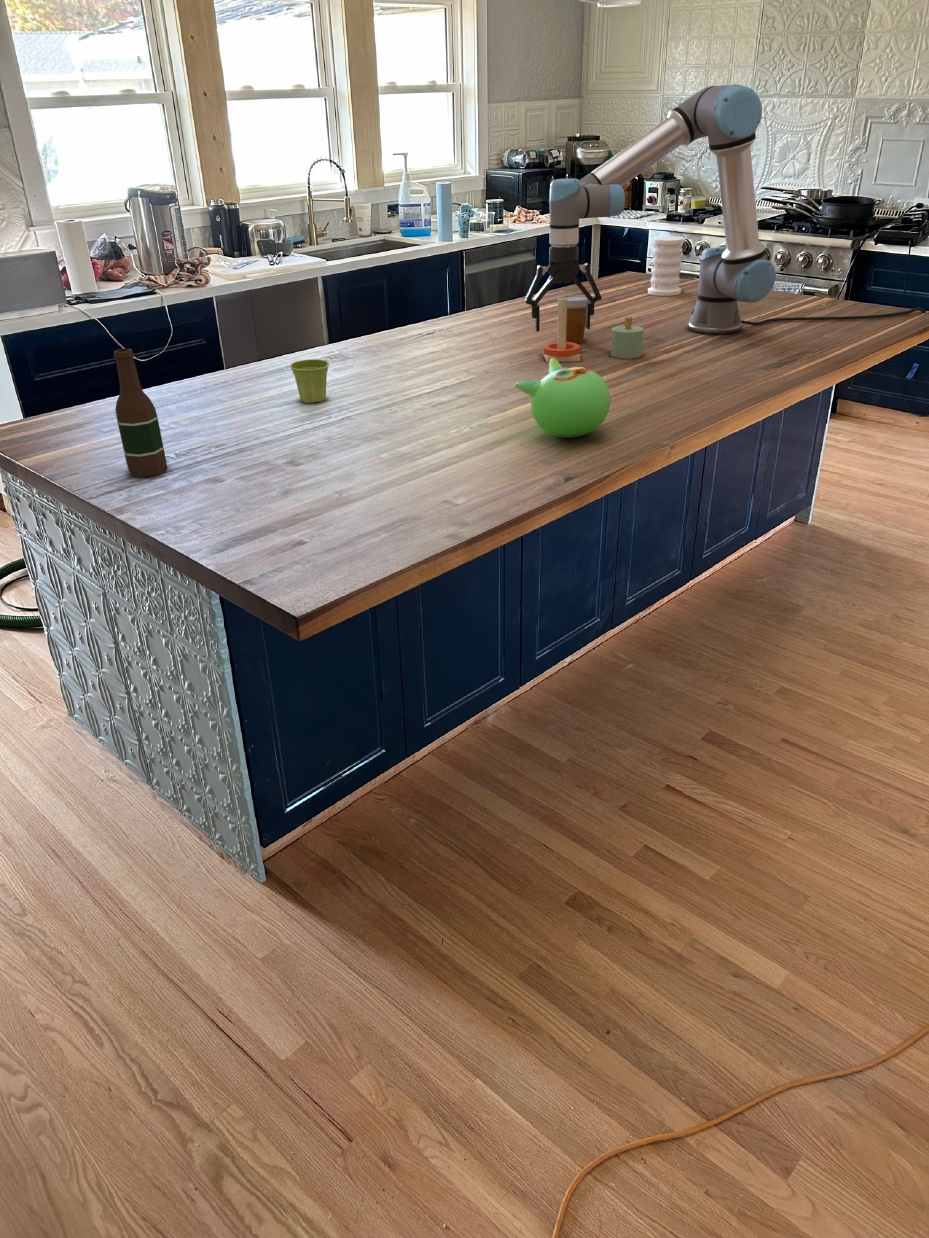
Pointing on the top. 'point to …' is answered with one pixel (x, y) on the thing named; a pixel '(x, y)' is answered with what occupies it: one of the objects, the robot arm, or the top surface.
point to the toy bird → (568, 400)
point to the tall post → (562, 333)
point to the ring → (552, 349)
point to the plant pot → (311, 379)
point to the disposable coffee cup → (575, 317)
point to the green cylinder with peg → (627, 340)
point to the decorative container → (666, 265)
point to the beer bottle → (137, 422)
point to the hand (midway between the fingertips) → (562, 329)
